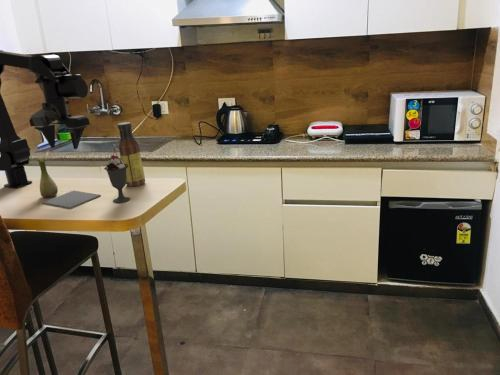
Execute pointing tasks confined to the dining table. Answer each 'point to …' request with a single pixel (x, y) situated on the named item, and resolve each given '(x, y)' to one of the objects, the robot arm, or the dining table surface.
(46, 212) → the dining table surface
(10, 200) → the dining table surface
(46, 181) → the fennel bulb
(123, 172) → the sundae
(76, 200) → the mat
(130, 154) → the sauce bottle
